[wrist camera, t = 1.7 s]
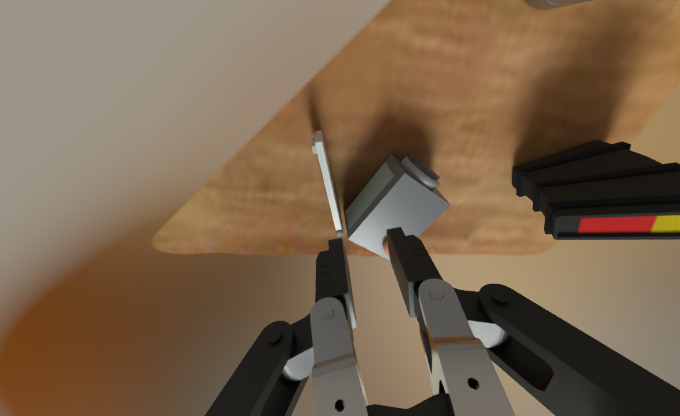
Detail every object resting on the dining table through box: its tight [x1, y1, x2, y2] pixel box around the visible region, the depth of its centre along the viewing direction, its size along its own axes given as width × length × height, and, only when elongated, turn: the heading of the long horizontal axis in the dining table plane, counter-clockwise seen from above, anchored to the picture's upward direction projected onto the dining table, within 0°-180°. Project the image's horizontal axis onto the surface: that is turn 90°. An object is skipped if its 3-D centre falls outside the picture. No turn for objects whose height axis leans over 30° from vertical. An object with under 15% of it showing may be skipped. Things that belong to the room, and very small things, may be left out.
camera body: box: [344, 154, 450, 260], centre depth 30 cm, size 12×7×7 cm, turn 145°
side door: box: [312, 130, 343, 237], centre depth 29 cm, size 12×1×5 cm, turn 10°
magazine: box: [512, 140, 680, 240], centre depth 28 cm, size 4×13×15 cm, turn 109°
